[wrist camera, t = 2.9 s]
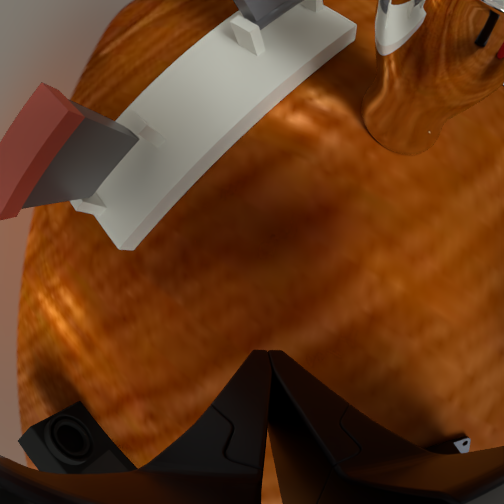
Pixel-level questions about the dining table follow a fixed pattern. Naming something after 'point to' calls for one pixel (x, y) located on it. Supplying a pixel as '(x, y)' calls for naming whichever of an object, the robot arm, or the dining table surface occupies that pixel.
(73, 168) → the red-capped switch paddle
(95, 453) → the digital camera
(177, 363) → the dining table surface
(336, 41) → the switch console
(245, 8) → the grey lever
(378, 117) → the beer glass
